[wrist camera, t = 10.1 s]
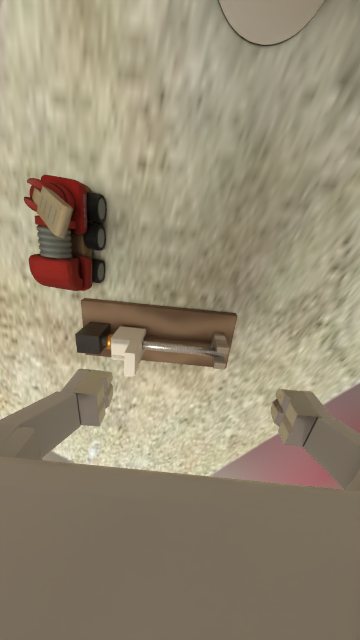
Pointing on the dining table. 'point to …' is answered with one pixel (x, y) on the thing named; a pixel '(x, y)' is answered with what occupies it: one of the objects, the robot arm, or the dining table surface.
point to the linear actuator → (167, 329)
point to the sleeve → (128, 348)
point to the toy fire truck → (67, 233)
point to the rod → (100, 335)
